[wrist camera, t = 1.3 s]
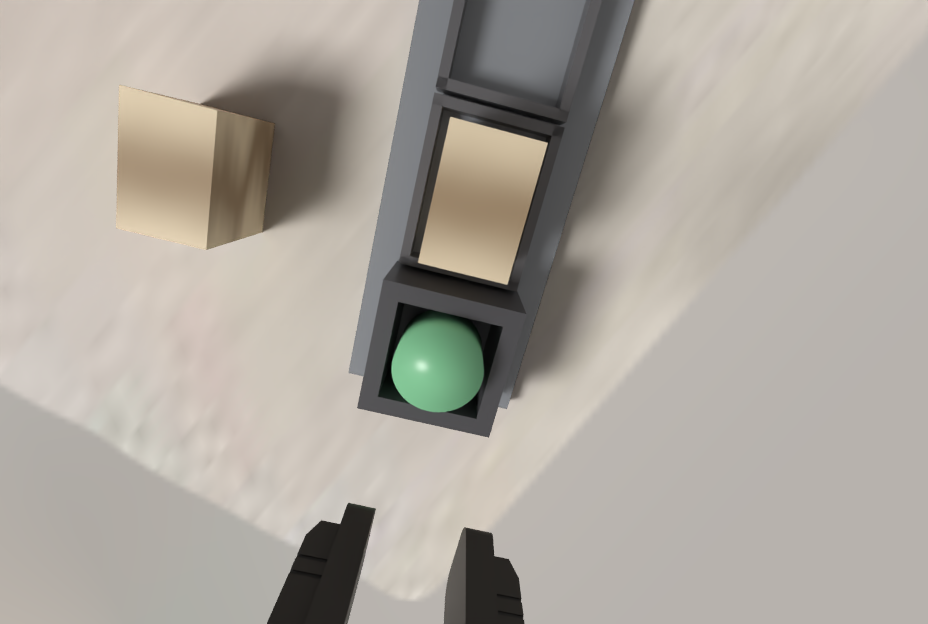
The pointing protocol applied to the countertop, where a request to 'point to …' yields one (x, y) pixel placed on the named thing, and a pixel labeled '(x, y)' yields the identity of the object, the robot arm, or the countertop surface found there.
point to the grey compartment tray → (417, 163)
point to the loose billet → (190, 170)
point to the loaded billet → (481, 200)
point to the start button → (438, 362)
